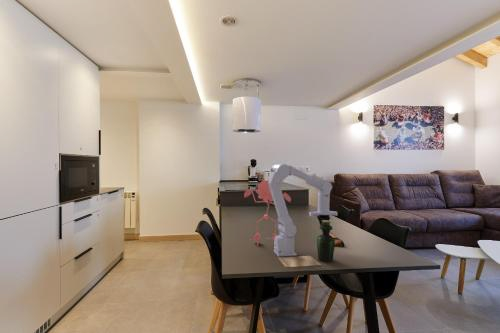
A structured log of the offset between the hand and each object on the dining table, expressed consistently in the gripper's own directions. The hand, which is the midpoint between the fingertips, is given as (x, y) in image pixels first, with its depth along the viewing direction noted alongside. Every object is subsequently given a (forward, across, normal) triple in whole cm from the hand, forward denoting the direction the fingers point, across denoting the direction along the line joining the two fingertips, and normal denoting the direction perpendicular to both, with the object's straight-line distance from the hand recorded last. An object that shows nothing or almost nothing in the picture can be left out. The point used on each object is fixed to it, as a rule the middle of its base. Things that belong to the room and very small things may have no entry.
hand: (323, 229), depth 134 cm
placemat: (+10, -18, -13) cm, 24 cm away
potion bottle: (+11, -5, -13) cm, 17 cm away
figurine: (+11, -25, +17) cm, 32 cm away
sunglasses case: (+11, +11, +12) cm, 20 cm away
